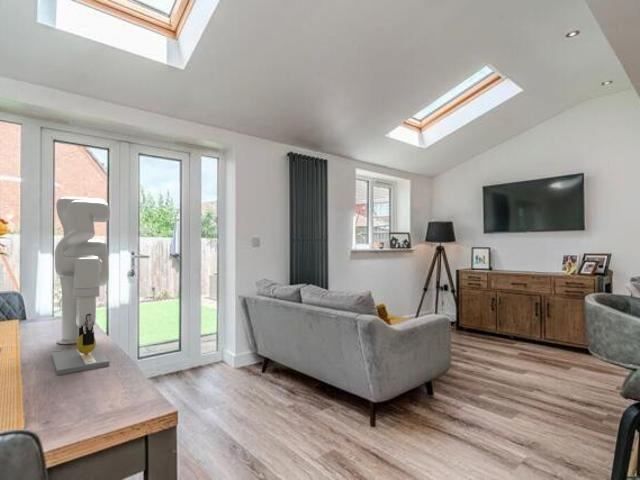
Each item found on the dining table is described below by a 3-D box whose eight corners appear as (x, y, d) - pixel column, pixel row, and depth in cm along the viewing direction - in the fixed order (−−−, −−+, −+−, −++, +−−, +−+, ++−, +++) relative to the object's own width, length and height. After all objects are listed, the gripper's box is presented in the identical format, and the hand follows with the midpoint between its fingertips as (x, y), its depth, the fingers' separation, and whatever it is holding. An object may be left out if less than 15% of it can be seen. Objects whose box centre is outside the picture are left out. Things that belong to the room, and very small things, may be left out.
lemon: (99, 353, 128) (99, 331, 128) (83, 358, 123) (83, 334, 123) (89, 351, 130) (89, 329, 130) (73, 356, 125) (73, 332, 125)
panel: (51, 356, 130) (51, 352, 130) (97, 349, 139) (97, 345, 139) (57, 375, 111) (57, 370, 111) (109, 365, 120) (109, 361, 120)
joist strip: (77, 349, 134) (77, 349, 134) (86, 348, 136) (86, 347, 136) (85, 364, 117) (85, 363, 117) (96, 362, 119) (96, 361, 119)
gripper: (71, 290, 131) (70, 337, 131) (77, 296, 118) (76, 349, 118) (95, 288, 136) (94, 334, 136) (103, 294, 123) (103, 345, 123)
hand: (86, 341), depth 127 cm, fingers open, 9 cm apart
